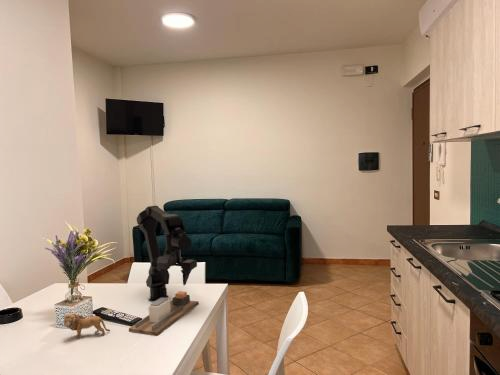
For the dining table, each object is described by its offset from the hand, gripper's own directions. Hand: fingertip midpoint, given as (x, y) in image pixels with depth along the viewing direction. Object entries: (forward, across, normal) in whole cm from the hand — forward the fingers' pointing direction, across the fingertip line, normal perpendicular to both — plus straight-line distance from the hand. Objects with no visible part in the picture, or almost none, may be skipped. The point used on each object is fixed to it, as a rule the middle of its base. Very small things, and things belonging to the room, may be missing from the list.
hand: (174, 283), depth 151 cm
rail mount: (+11, +1, -7) cm, 13 cm away
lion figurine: (+11, -17, -30) cm, 37 cm away
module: (+10, +1, -11) cm, 15 cm away
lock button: (+8, 0, +4) cm, 9 cm away
